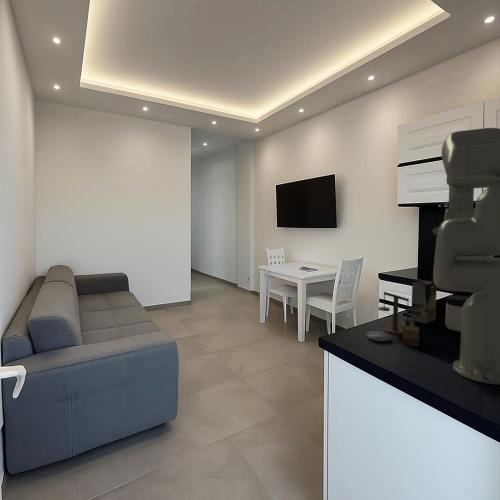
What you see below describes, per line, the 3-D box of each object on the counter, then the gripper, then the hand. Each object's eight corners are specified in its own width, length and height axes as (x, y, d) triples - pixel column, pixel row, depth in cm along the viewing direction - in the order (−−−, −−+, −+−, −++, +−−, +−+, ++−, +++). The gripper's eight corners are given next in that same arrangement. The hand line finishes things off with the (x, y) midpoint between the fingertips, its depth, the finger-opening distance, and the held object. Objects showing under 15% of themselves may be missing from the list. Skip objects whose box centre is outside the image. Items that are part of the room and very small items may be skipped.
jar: (473, 333, 114) (475, 301, 113) (447, 330, 118) (449, 299, 117) (467, 325, 123) (469, 295, 122) (443, 323, 126) (445, 294, 125)
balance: (412, 337, 111) (413, 296, 110) (376, 331, 118) (377, 292, 116) (413, 333, 115) (414, 293, 114) (379, 328, 121) (379, 290, 120)
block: (417, 347, 102) (418, 331, 102) (402, 344, 105) (403, 328, 104) (418, 342, 106) (419, 327, 106) (404, 340, 109) (404, 324, 108)
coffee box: (426, 324, 125) (428, 284, 124) (410, 320, 130) (411, 282, 129) (435, 319, 131) (437, 281, 130) (419, 316, 136) (421, 279, 135)
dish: (389, 344, 105) (389, 340, 104) (364, 340, 109) (364, 336, 109) (392, 337, 111) (392, 333, 111) (369, 333, 116) (369, 329, 115)
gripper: (432, 205, 115) (431, 251, 117) (491, 203, 106) (489, 253, 107) (433, 206, 122) (432, 250, 123) (489, 204, 112) (487, 252, 113)
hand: (458, 251), depth 115 cm, fingers open, 9 cm apart
